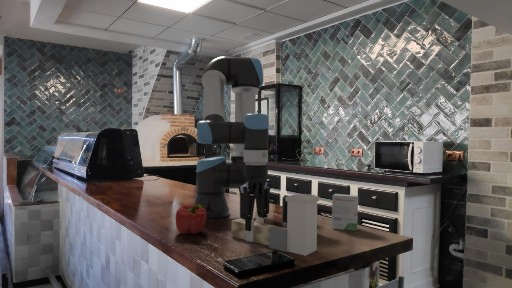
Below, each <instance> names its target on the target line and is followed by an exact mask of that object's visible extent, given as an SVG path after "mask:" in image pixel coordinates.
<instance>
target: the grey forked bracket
mask: <svg viewBox="0 0 512 288" xmlns="http://www.w3.org/2000/svg"><path fill="white" fill-rule="evenodd" d="M302 194H303V193H299V194H297V195H296V194H291V195H292V196H290V195H286V196H287V197H286V201H288V204H287V223H286V222H282V227H284V228H287V229H282V228H277V227H272V226H271V227H270V238H269V245H268V246H269V249H272V250H275V251H276V250H277V251H281V252H285V253H286V252H289V253H292V254H297V255H301V256H308V255H310V254H313V253H314V252H316V251H317V250H318V248H317V244H318V243H317V242H318V240H317V238H318V235H317V234H318V202H319V201H320V196H317V195H316V196H310V195H302Z"/></svg>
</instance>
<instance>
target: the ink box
mask: <svg viewBox="0 0 512 288" xmlns="http://www.w3.org/2000/svg"><path fill="white" fill-rule="evenodd" d="M331 201H332V202H331V203H332V204H331V205H332V206H331V229H332V230H343V231H350V232H351V231H353V232H357V230H358V214H359V212H358V211H359V210H358V209H359V195H354V194H341V193H334V194H332V200H331Z"/></svg>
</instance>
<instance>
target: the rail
mask: <svg viewBox="0 0 512 288" xmlns="http://www.w3.org/2000/svg"><path fill="white" fill-rule="evenodd" d="M271 226H272V227H277V228H282V229H287V228H284V227H283V226H278V225H274V224H268V223H265V222H264V223H259V222H256V221H254V242H253V243H256V244H259V245H260V244H261V245H265V246H269V238H270V227H271ZM230 236H231V238H232V237H233V238H237V239H241V240H245V241H246V230H245V219H242V218H236V219H233V220H231V235H230Z"/></svg>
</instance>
